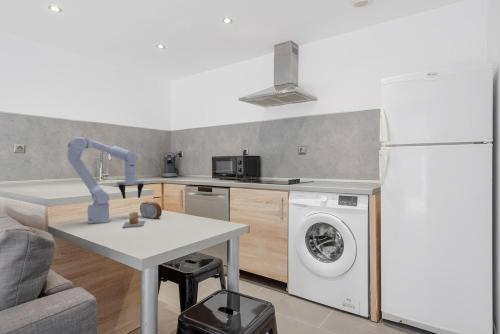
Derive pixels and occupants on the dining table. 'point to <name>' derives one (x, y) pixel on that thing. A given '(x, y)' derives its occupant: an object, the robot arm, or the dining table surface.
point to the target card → (128, 225)
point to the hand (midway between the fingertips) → (131, 198)
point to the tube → (133, 218)
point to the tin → (150, 210)
